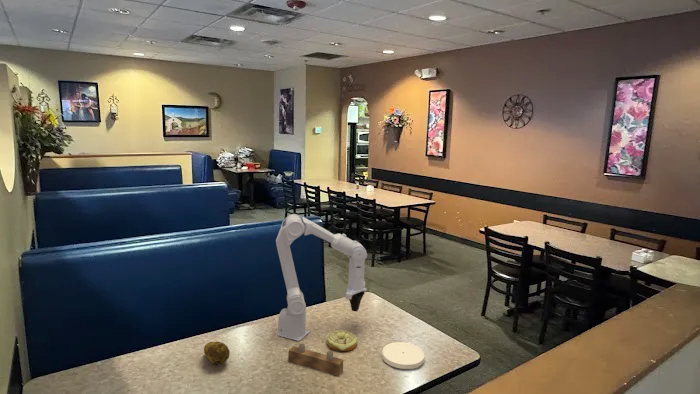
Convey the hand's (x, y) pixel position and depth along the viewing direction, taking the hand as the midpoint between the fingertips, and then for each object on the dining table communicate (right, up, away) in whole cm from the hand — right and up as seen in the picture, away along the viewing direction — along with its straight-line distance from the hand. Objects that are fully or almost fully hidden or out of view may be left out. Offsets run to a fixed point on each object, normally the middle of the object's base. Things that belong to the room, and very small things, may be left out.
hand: (354, 310), depth 156 cm
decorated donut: (-5, -10, -9) cm, 14 cm away
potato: (-44, -11, -23) cm, 51 cm away
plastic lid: (+16, -12, -16) cm, 26 cm away
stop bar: (-13, -12, -23) cm, 29 cm away
